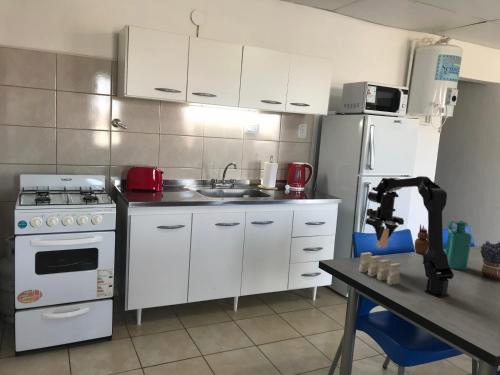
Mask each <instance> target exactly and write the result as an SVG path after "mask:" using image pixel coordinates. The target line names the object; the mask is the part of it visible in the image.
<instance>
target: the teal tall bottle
mask: <svg viewBox="0 0 500 375" xmlns="http://www.w3.org/2000/svg"><path fill="white" fill-rule="evenodd" d="M446 224H447V229H448V235H447V241H446V248H445V254H446V255H447V258H448V264H449V267H450V269H451V270H459V271H460V270H462V271H466V270H467V269H468V263H469V258H470V257H469V256H470V252H471V251H470V250H471V245H472V238H473V237H472V234H471V233H469V232H468V231H466V226H468V225H469V222H467V221H463V220H456V221H454V220H453V219H450V218H447V223H446ZM453 224H455V225H456V228H455V229H453Z"/></svg>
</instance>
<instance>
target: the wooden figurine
mask: <svg viewBox="0 0 500 375" xmlns="http://www.w3.org/2000/svg"><path fill="white" fill-rule="evenodd" d="M418 231H419V232H418V233H417V238H416V239H415V240H414V244H413V245H414V247H413V248H414V251H415V253H416V254H420V255H423V253H427V251H428V250H429V234H428V229H427V228H426V227H425V225H422V224H421V223H420V224H419V230H418Z"/></svg>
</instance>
